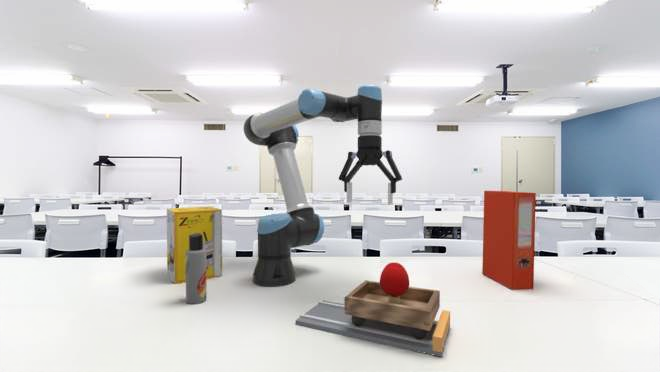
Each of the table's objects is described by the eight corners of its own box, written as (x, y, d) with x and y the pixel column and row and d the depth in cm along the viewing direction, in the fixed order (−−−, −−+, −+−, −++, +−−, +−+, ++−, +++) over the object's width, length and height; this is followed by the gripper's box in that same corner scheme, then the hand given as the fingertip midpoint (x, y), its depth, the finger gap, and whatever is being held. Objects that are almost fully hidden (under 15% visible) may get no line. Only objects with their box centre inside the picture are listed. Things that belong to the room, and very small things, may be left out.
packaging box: (222, 276, 124) (221, 209, 123) (174, 284, 115) (174, 211, 114) (210, 266, 137) (210, 206, 137) (167, 273, 128) (166, 208, 127)
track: (295, 324, 83) (295, 308, 83) (323, 303, 97) (323, 290, 97) (441, 357, 68) (441, 337, 68) (450, 327, 82) (450, 311, 82)
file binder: (502, 274, 127) (503, 190, 126) (534, 289, 110) (535, 192, 109) (482, 274, 126) (483, 190, 126) (511, 289, 109) (512, 192, 108)
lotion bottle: (210, 298, 101) (210, 233, 100) (197, 305, 95) (196, 236, 95) (195, 296, 103) (194, 232, 102) (181, 303, 97) (181, 234, 97)
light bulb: (409, 315, 75) (410, 271, 74) (378, 312, 76) (378, 269, 76) (408, 300, 84) (409, 260, 84) (380, 298, 85) (380, 259, 85)
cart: (344, 326, 78) (344, 297, 78) (365, 305, 91) (365, 280, 91) (429, 345, 69) (430, 311, 69) (439, 318, 82) (439, 290, 82)
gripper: (328, 136, 107) (328, 202, 107) (406, 132, 96) (405, 205, 96) (338, 139, 114) (338, 201, 114) (412, 135, 103) (411, 203, 103)
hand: (369, 203), depth 105 cm, fingers open, 13 cm apart
